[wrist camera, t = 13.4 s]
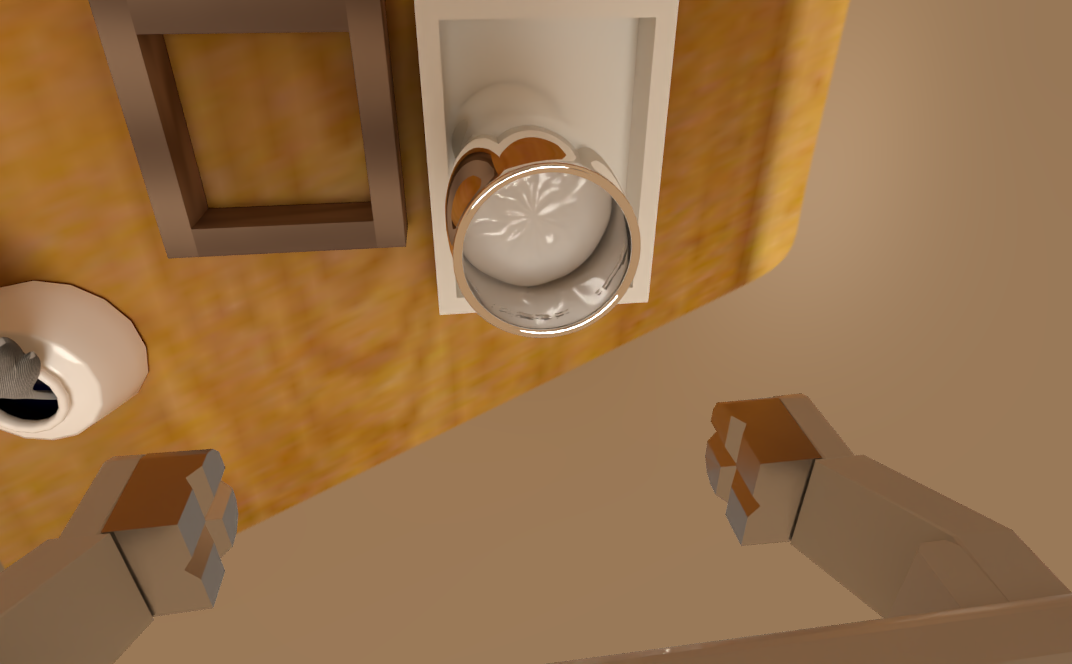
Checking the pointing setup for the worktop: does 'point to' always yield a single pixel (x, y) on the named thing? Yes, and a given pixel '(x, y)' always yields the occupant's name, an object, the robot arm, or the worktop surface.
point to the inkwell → (63, 360)
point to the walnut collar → (166, 151)
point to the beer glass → (535, 217)
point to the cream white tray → (553, 93)
